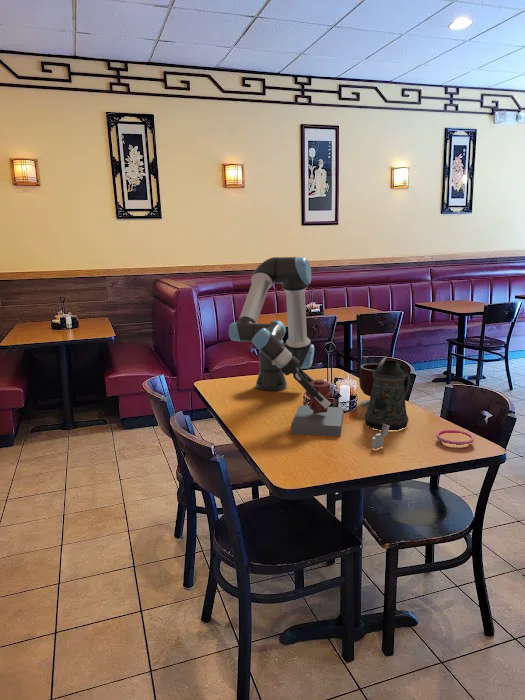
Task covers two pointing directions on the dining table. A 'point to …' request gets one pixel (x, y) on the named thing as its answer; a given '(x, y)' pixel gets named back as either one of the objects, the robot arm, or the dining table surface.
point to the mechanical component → (324, 390)
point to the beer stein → (388, 397)
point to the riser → (318, 421)
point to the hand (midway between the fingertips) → (326, 401)
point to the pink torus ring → (454, 441)
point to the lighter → (380, 437)
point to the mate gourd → (368, 379)
